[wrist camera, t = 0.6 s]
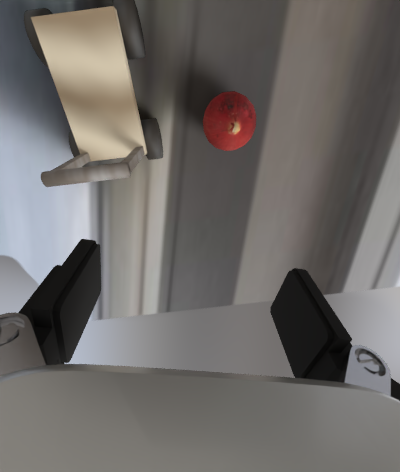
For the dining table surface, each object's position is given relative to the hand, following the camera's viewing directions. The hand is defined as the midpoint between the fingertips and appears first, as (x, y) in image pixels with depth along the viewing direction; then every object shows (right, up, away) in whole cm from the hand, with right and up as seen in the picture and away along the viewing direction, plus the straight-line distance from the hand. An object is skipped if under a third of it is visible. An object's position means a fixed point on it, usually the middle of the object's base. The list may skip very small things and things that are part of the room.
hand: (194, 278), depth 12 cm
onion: (+3, +17, +18) cm, 25 cm away
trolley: (-10, +19, +16) cm, 26 cm away
